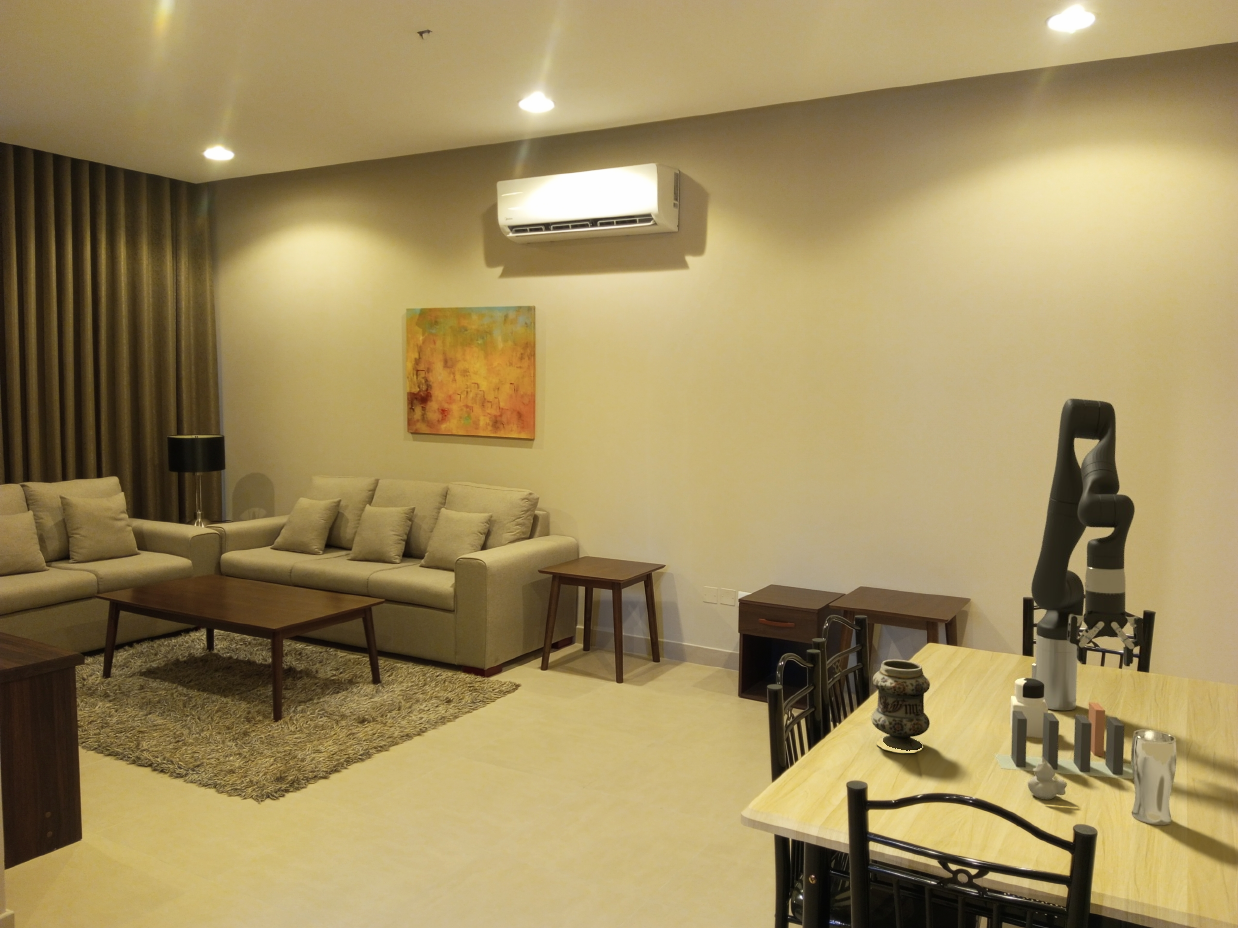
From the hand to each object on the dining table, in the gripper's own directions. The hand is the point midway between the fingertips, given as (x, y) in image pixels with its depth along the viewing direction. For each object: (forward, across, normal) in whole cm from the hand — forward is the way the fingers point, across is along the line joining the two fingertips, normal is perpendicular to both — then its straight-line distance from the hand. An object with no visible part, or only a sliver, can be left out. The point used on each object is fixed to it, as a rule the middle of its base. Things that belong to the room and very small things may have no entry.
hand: (1104, 664), depth 196 cm
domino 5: (+19, -1, -11) cm, 22 cm away
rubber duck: (+19, -17, -28) cm, 38 cm away
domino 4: (+19, -2, -1) cm, 19 cm away
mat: (+19, -7, -11) cm, 23 cm away
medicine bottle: (+19, -13, +9) cm, 25 cm away
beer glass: (+20, -1, -32) cm, 38 cm away
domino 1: (+18, -19, -11) cm, 29 cm away
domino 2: (+18, -13, -11) cm, 25 cm away
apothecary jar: (+18, -42, -6) cm, 46 cm away
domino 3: (+18, -7, -11) cm, 23 cm away
